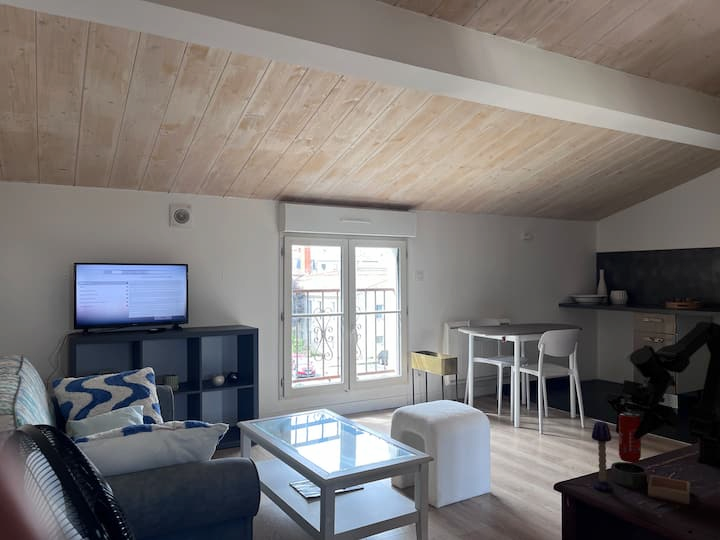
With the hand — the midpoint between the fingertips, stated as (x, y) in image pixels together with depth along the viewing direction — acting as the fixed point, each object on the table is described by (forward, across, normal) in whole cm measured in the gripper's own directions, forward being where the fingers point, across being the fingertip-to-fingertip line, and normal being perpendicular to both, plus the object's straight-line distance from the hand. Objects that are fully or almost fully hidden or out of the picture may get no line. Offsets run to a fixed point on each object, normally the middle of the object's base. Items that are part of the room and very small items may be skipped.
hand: (626, 435), depth 143 cm
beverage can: (+4, 0, +6) cm, 7 cm away
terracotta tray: (+7, +10, +10) cm, 16 cm away
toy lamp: (+15, 0, +2) cm, 16 cm away
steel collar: (+8, 0, +9) cm, 12 cm away
